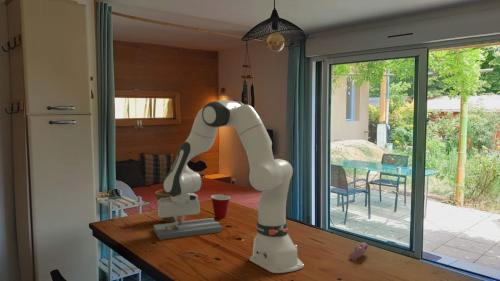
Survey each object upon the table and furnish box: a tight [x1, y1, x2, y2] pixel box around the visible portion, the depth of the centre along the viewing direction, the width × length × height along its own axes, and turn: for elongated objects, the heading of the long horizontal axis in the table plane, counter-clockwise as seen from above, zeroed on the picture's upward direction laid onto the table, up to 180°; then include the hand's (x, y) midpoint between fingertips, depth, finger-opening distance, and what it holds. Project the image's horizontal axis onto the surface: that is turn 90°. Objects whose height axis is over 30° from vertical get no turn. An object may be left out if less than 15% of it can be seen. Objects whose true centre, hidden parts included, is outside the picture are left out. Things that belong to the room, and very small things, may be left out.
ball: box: [167, 225, 175, 230], centre depth 181 cm, size 4×4×4 cm
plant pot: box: [155, 189, 180, 224], centre depth 201 cm, size 15×15×16 cm
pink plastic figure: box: [348, 241, 369, 260], centre depth 151 cm, size 10×5×7 cm, turn 150°
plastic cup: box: [210, 194, 231, 220], centre depth 208 cm, size 11×11×12 cm
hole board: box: [153, 217, 223, 241], centre depth 184 cm, size 16×30×4 cm, turn 114°
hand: (179, 224), depth 182 cm, fingers closed
